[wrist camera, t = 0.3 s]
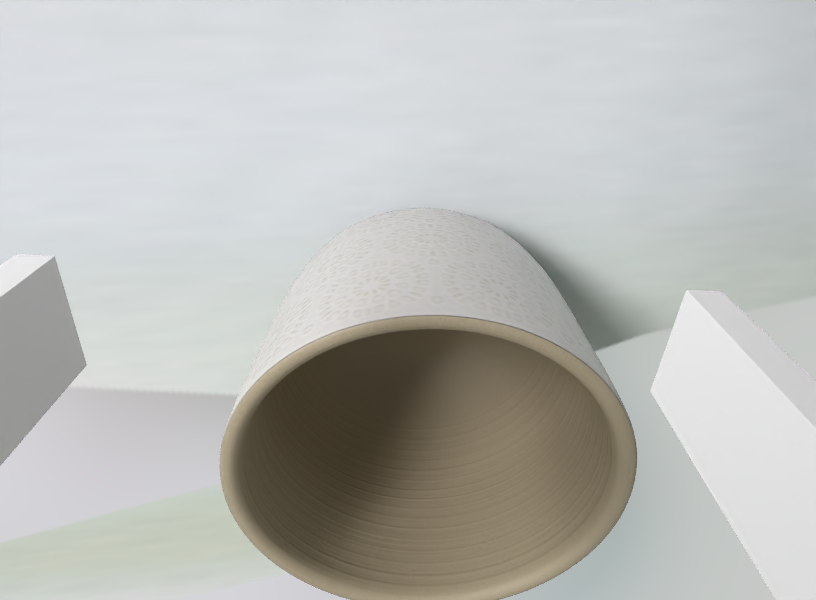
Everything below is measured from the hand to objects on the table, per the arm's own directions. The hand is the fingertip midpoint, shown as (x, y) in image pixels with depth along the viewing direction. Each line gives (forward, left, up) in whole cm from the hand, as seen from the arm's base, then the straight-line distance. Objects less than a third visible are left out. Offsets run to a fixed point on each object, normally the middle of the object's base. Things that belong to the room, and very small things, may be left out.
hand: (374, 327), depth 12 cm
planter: (+15, +2, -28) cm, 32 cm away
